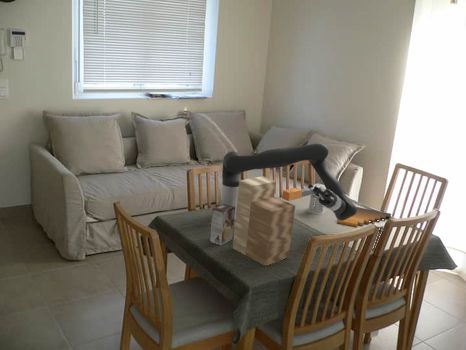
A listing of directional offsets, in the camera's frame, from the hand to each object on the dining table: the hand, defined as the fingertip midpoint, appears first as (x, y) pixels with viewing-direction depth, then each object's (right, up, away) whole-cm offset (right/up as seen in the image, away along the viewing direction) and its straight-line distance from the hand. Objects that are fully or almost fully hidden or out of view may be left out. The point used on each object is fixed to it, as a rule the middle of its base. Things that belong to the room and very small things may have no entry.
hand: (312, 187), depth 224 cm
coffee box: (-40, -24, +7) cm, 47 cm away
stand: (-23, -28, -2) cm, 36 cm away
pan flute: (+35, -19, +48) cm, 63 cm away
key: (-5, -3, -3) cm, 7 cm away
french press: (+10, -14, +54) cm, 57 cm away
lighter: (+32, -28, +16) cm, 45 cm away
